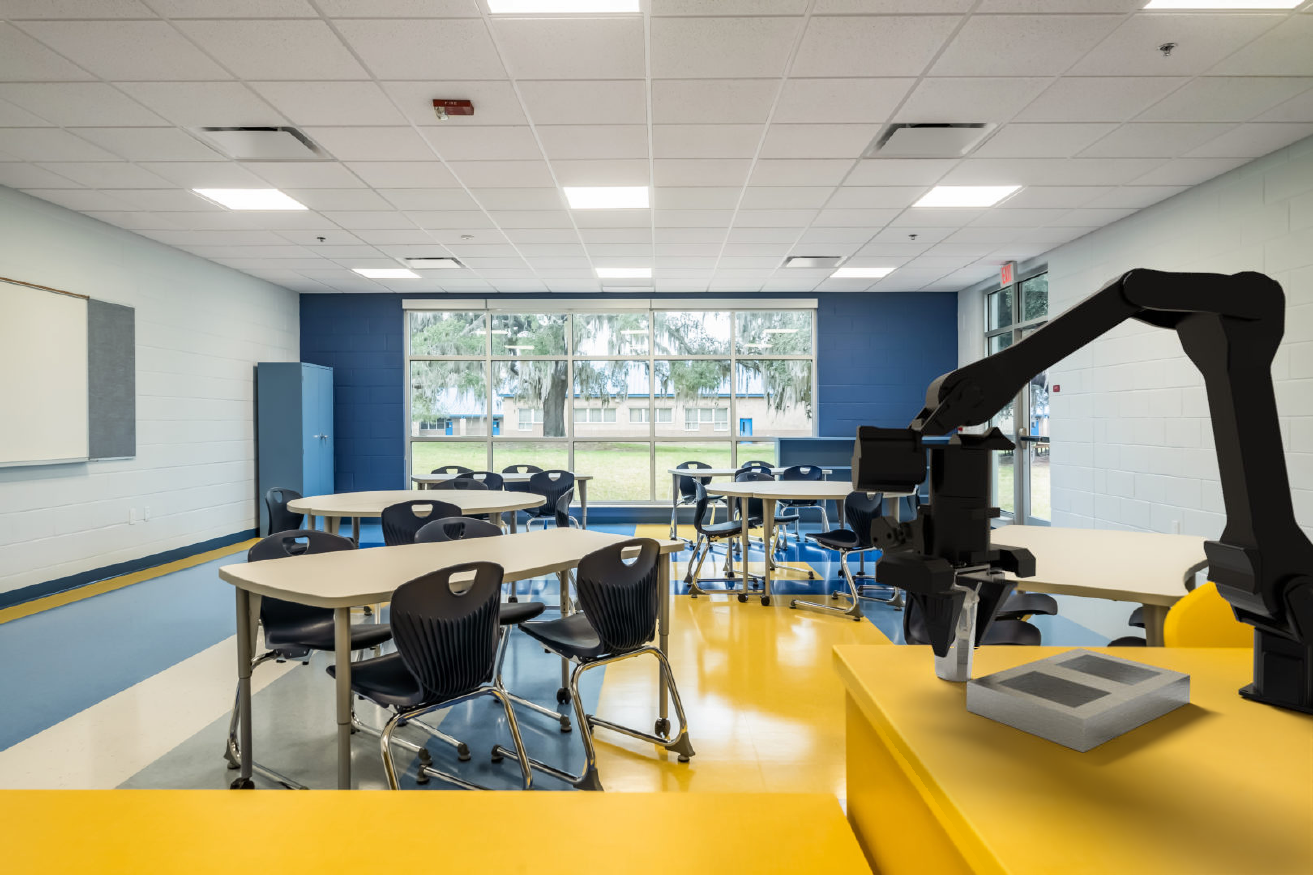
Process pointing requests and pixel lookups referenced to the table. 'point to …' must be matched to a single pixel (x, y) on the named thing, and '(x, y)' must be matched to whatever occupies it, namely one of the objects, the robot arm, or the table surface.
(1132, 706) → the block
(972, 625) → the milkshake
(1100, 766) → the table surface
